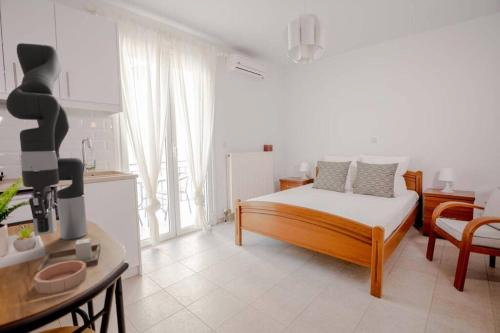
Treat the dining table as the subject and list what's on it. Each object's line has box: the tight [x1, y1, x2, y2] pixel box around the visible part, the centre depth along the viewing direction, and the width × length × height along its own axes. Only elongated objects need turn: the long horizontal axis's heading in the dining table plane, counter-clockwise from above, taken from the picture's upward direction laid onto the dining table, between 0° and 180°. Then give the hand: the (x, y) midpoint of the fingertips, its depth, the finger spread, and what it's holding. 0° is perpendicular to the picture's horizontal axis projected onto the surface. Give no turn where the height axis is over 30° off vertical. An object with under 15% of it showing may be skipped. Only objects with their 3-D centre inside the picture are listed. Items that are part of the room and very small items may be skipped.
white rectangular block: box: [74, 237, 92, 261], centre depth 85 cm, size 4×4×6 cm
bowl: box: [33, 260, 88, 294], centre depth 71 cm, size 12×12×4 cm
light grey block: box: [32, 208, 58, 237], centre depth 69 cm, size 4×4×6 cm
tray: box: [35, 243, 101, 275], centre depth 83 cm, size 14×16×2 cm
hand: (46, 229), depth 69 cm, fingers closed on light grey block, 4 cm apart
